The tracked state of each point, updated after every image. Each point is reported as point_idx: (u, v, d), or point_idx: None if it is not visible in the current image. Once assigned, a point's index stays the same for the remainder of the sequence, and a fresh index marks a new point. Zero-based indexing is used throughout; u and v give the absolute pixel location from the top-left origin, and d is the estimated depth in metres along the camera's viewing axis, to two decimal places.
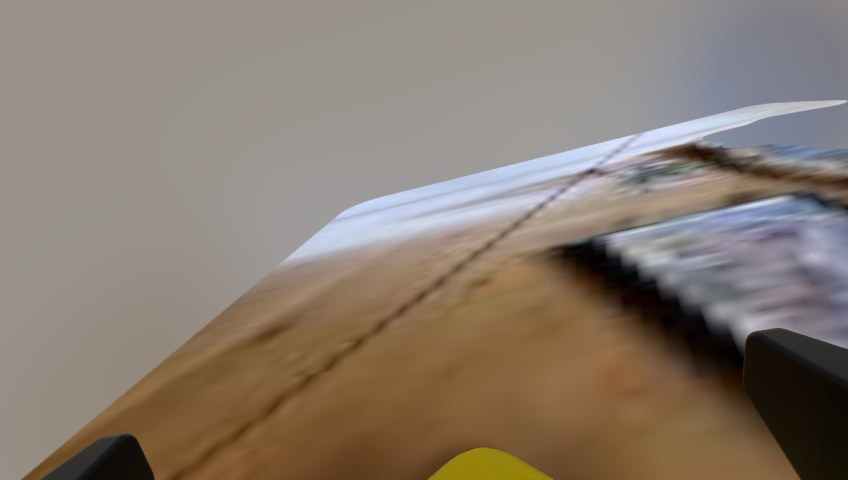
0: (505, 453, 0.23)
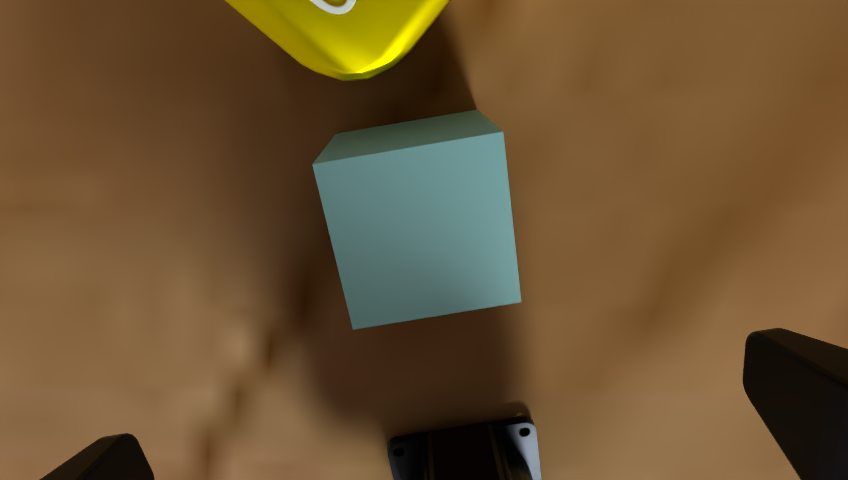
0: None
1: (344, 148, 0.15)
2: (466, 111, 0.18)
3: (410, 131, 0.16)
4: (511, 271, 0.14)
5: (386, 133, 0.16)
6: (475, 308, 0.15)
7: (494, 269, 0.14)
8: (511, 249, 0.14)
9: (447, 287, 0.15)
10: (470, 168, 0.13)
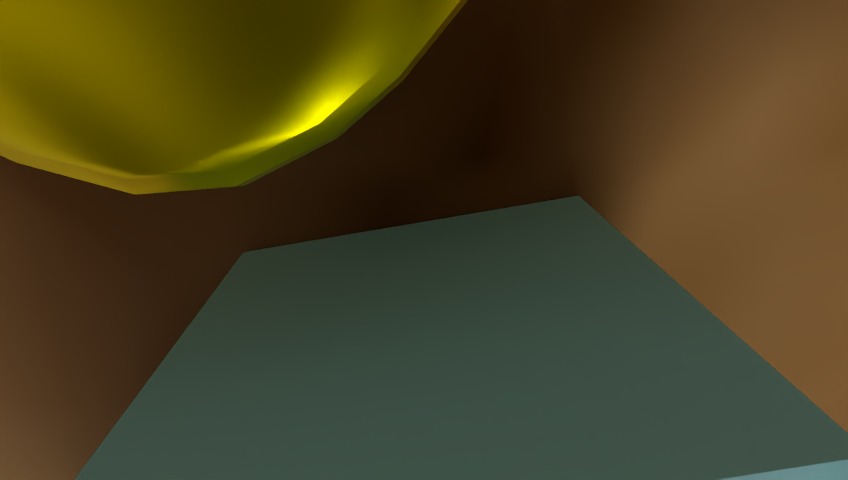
0: None
1: (206, 393, 0.04)
2: (556, 203, 0.07)
3: (424, 300, 0.05)
4: None
5: (356, 293, 0.06)
6: None
7: None
8: None
9: None
10: None
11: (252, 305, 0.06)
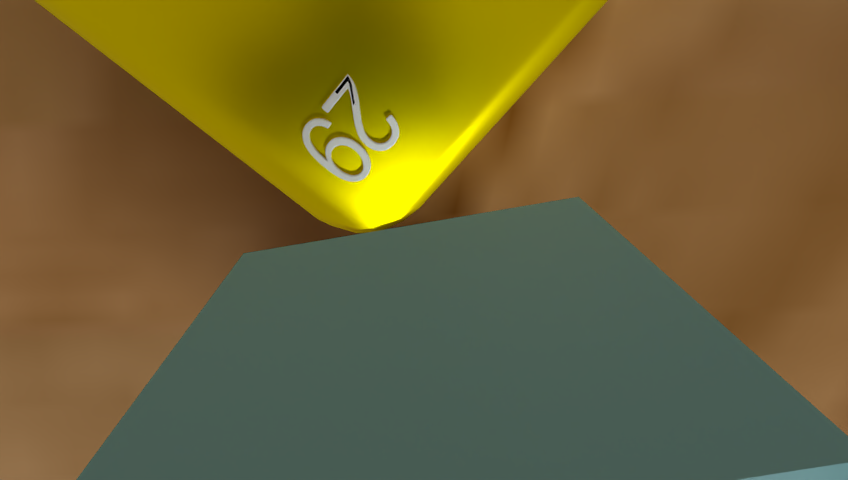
0: None
1: (206, 395, 0.04)
2: (556, 205, 0.07)
3: (425, 302, 0.05)
4: None
5: (356, 295, 0.06)
6: None
7: None
8: None
9: None
10: None
11: (252, 307, 0.06)
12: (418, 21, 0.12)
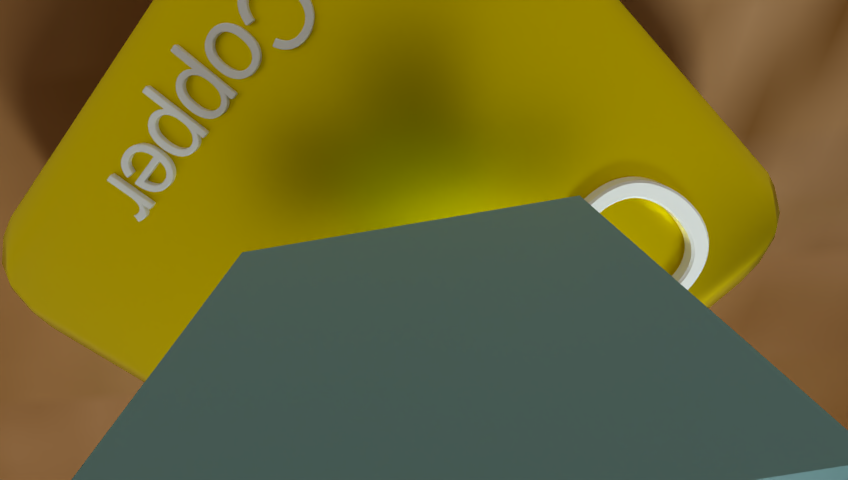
0: None
1: (203, 395, 0.04)
2: (557, 203, 0.07)
3: (424, 301, 0.05)
4: None
5: (355, 294, 0.06)
6: None
7: None
8: None
9: None
10: None
11: (250, 306, 0.06)
12: None
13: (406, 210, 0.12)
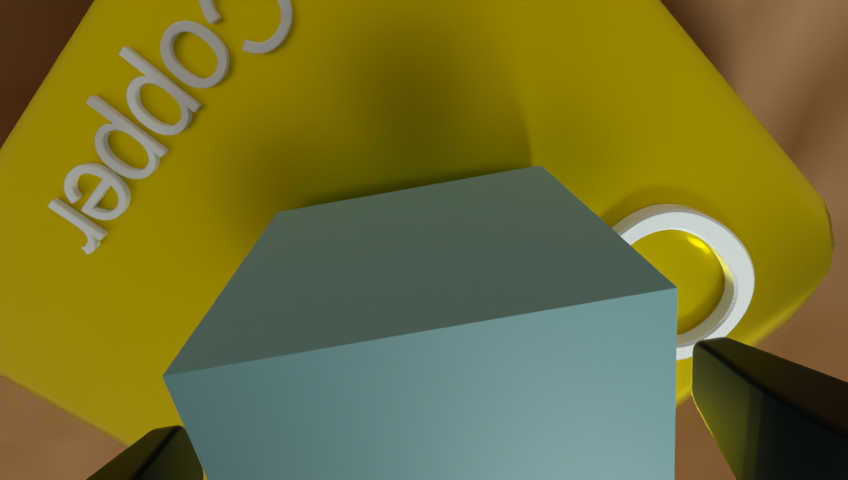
0: None
1: (270, 288, 0.06)
2: (523, 171, 0.09)
3: (419, 233, 0.07)
4: None
5: (369, 232, 0.08)
6: None
7: None
8: None
9: None
10: (580, 373, 0.05)
11: (292, 242, 0.08)
12: None
13: None
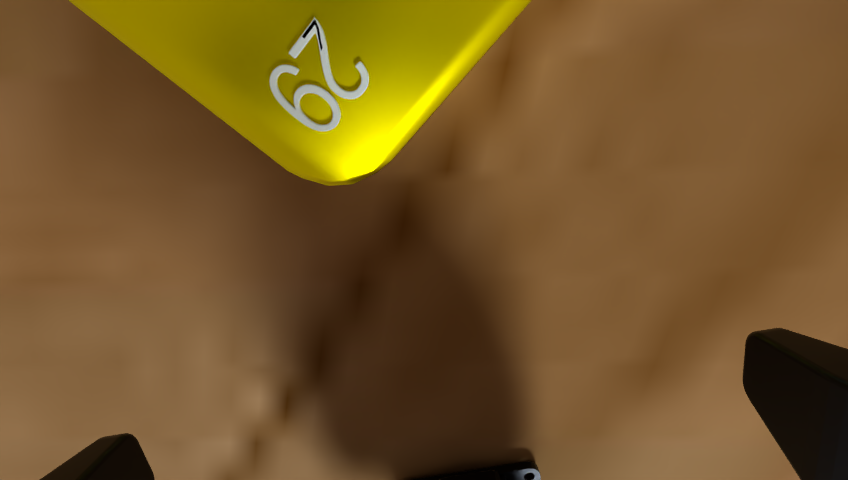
0: None
1: None
2: None
3: None
4: None
5: None
6: None
7: None
8: None
9: None
10: None
11: None
12: None
13: None
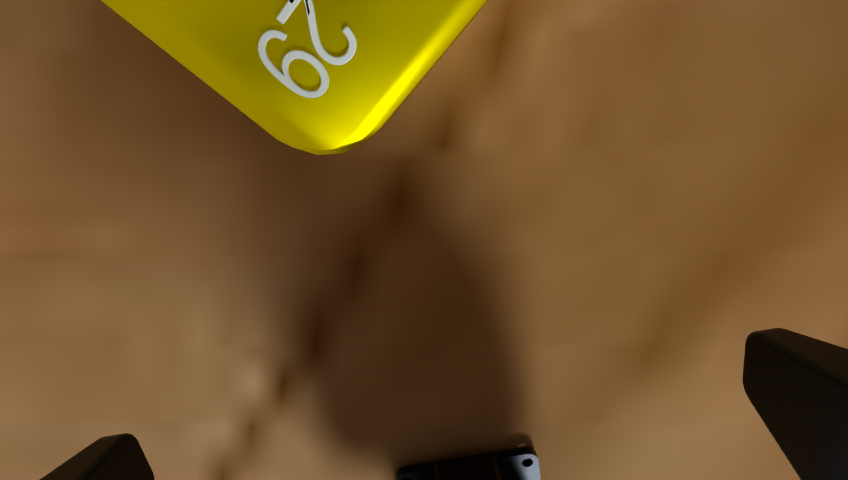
0: None
1: None
2: None
3: None
4: None
5: None
6: None
7: None
8: None
9: None
10: None
11: None
12: None
13: None
